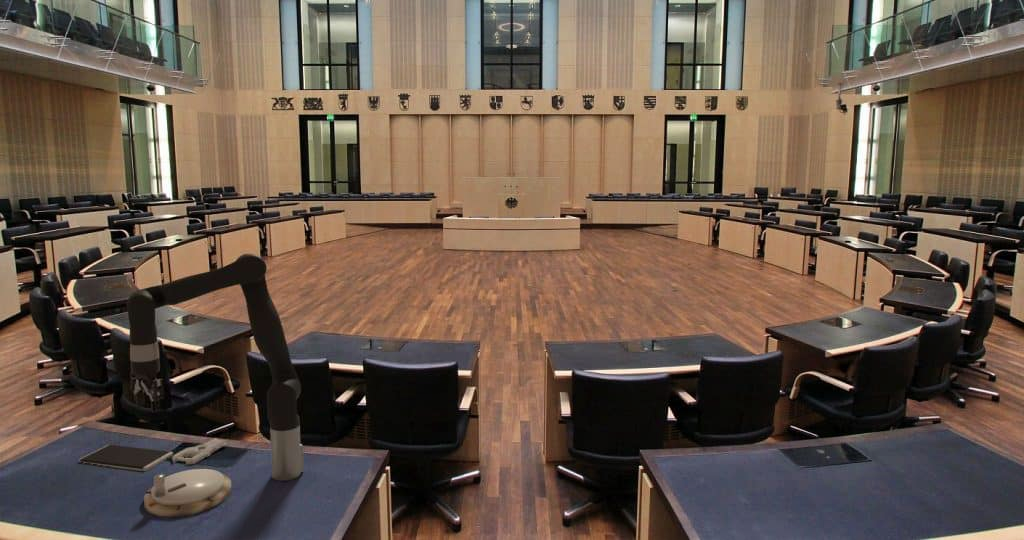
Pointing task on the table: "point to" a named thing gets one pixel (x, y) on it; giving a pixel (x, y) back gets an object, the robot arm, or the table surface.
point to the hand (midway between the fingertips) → (148, 408)
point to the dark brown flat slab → (127, 457)
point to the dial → (186, 486)
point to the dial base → (188, 508)
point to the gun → (199, 451)
